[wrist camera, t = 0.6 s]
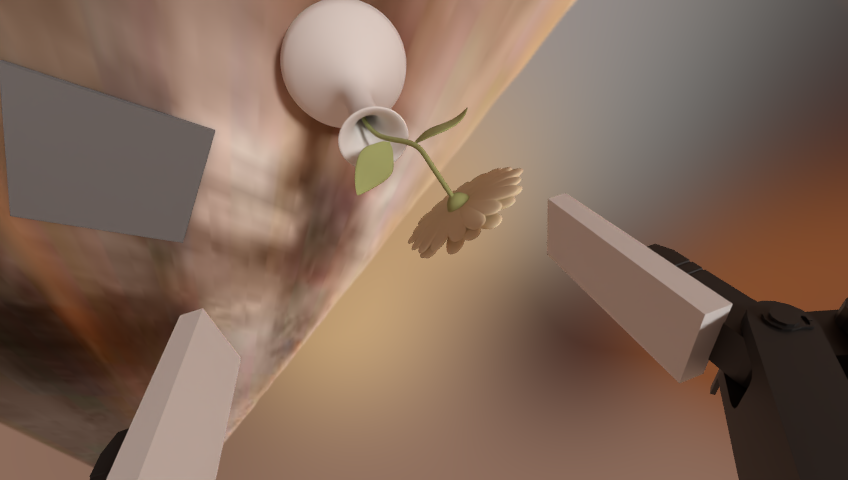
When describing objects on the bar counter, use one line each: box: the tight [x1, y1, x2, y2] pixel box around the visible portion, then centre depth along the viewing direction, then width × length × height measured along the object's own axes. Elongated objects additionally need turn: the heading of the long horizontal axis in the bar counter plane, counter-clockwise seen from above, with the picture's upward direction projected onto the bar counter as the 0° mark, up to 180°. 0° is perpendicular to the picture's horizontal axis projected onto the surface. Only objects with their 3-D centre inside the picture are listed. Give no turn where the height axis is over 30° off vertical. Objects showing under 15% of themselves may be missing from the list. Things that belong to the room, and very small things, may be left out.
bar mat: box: [0, 60, 215, 243], centre depth 34 cm, size 16×14×1 cm
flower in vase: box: [280, 0, 523, 258], centre depth 26 cm, size 13×11×25 cm
